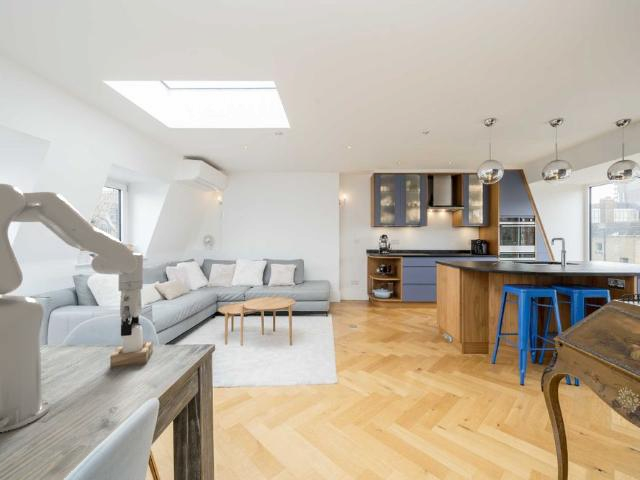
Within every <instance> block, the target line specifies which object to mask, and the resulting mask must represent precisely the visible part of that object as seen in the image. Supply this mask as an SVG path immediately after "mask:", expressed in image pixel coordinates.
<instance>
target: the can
mask: <svg viewBox="0 0 640 480" xmlns="http://www.w3.org/2000/svg"><path fill="white" fill-rule="evenodd" d="M121 345H122V353H128V352H135V351H142V350H143V328H142V324H141V323H139V324H132V334H131V335H129V336H121Z"/></svg>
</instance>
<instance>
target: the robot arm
mask: <svg viewBox="0 0 640 480" xmlns="http://www.w3.org/2000/svg"><path fill="white" fill-rule="evenodd" d="M13 222H14V223H36V222H37V223H41V224H42V225H44V226H45V227H46V228H47V229H48V230H50V231H51V232H52V233H53V234H54V235H56V236H57V237H58V238H59V239H60V240H61V241H63V242H64V243H65V244H66V245H68V246H70V247H72V248H75V249H77V250H78V249H79V250H82V251H85V252H90V253H92V254H96V255H95V257H94V258H92V260H91V263H90V264H91V268H92V270H93V271H95V272H96V273H98V274H101V275H118V291H119V292H120V306H119V316H120V318H121V319H120V336H121V337H122V336H129V335H131V334H132V324H140V321H139V320H140V317H139V316H140V314H142V310H143V309H142V307H143V306H142V292H141V290H143V285H144V284H143V280H144V279H143V278H144V277H143V274H144V273H143V271H144V270H143V269H144V267H143V266H144V265H143V263H144V258H143V257H144V256H143V254H142V253H138V252H133V251H131V249H130V248H128V246H127V245H125V243H123V242H122V241H120V240H119V239H117V238H115V237H114V236H112V235H110V234H108V233H106V232H104V231H102V230H101V229H99V228H96V227H95V226H94V225H93V224H91V223H90V222H89V220H88V219H86V218H85V217H84V216H83V214H81V213H80V212H79V210H77V209H76V208H75V207H74V206H73V205H72V204H71V203H70V202H69V201H68V200H67V199H66V198H65V197H63V196H62V195H61V194H58V193H56V192H51V191H41V192H40V191H39V192H38V191H37V192H22V190H21V189H19V188H18V187H16V186H14V185H10V184H6V183H0V432H2V433H5V432H4V431H6V432H9V431H8V430H10V431H13V430H15V429H19V428H22V427H24V426H26V425H28V423H29V424H31V423H33V422H34V421H36V420H39V419H40V418H42V417H43V416H44V415H46V413H48V411H49V410H50V408H51V403H50V401H49V400H46V399H43V395H42V393H43V392H42V391H43V390H42V389H43V388H42V359H41V358H42V357H41V356H42V355H41V354H42V353H41V337H42V335H41V334H42V328H43V323H44V318H45V309H44V307H43V304H41V303H40V301H38V300H37V299H35V298H33V297H29V296H25V295H24V296H23V295H9V293H11V292H14V291H16V290H17V289H18V288H20V286H21V285H22V283H23V279H24V278H23V272H22V270H21V268H20V264H19V263H18V260H17V258H16V255H15V252H14V251H13V250H14V249H13V248H12V246H11V243H10V239H9V233H8V232H9V227H10V225H11V223H13ZM12 429H13V430H12Z"/></svg>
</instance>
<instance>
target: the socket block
mask: <svg viewBox="0 0 640 480" xmlns="http://www.w3.org/2000/svg"><path fill="white" fill-rule="evenodd" d="M153 353H154V351H153V341H144V342H143V350H142V351H135V352H128V353H122V344H121V345H119V346H118V347H117V348H116V349H115V350H114V351H113V353H111V355H110V356H109V357H110V359H109V360H110V362H109V363H110V370H114V369H120V368H128V367H134V366H141V365H147V363H148V361H149V360H150V358H151V356H152V355H153Z"/></svg>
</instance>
